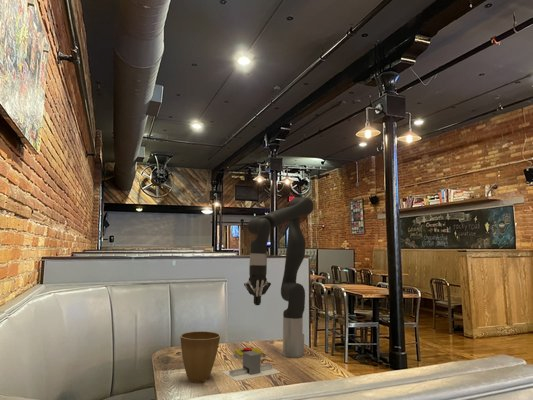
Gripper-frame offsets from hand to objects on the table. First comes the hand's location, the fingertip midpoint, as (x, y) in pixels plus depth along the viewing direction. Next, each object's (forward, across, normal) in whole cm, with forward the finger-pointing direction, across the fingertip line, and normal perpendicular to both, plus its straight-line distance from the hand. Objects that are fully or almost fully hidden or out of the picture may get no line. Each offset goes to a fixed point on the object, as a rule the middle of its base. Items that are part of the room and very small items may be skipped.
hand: (257, 305), depth 159 cm
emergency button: (+26, -5, -13) cm, 29 cm away
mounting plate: (+25, +7, +8) cm, 27 cm away
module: (+24, +7, +8) cm, 26 cm away
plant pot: (+25, +27, +3) cm, 37 cm away
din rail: (+25, +7, +8) cm, 27 cm away
